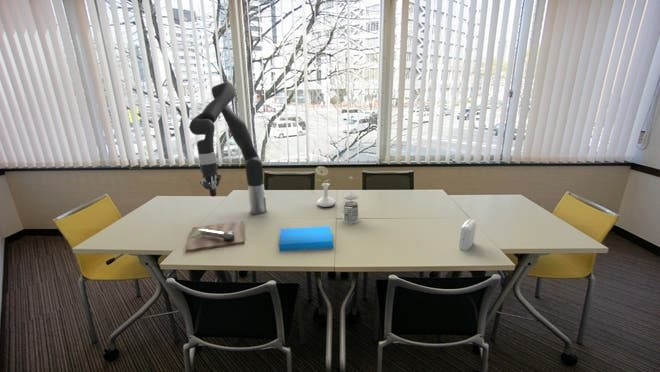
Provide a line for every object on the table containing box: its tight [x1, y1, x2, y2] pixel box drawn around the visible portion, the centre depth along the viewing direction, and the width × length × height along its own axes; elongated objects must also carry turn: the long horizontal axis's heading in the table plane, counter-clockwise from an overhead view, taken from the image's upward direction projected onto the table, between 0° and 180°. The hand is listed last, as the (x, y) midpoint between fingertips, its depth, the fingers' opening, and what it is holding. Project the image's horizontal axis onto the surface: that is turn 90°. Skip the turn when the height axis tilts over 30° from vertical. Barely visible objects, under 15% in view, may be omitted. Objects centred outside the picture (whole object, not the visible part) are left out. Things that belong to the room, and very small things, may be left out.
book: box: [278, 225, 335, 252], centre depth 148 cm, size 17×4×25 cm
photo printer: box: [458, 219, 477, 251], centre depth 140 cm, size 10×4×12 cm, turn 140°
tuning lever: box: [198, 229, 235, 242], centre depth 151 cm, size 20×5×3 cm, turn 71°
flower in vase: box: [315, 165, 336, 208], centre depth 190 cm, size 13×11×25 cm
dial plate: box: [185, 220, 246, 254], centre depth 155 cm, size 26×25×2 cm
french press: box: [341, 176, 361, 224], centre depth 168 cm, size 10×12×25 cm
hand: (213, 196), depth 152 cm, fingers closed
